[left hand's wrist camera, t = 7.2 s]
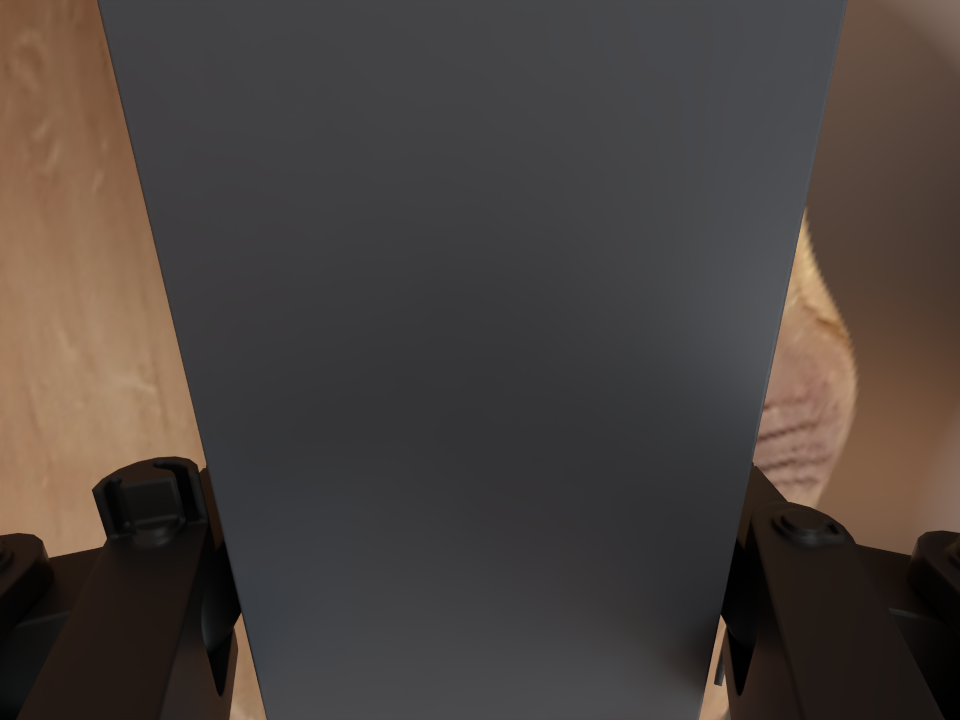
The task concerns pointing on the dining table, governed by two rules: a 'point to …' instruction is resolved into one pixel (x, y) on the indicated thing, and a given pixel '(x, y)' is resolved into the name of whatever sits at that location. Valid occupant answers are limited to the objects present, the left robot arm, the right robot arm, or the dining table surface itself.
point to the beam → (477, 327)
